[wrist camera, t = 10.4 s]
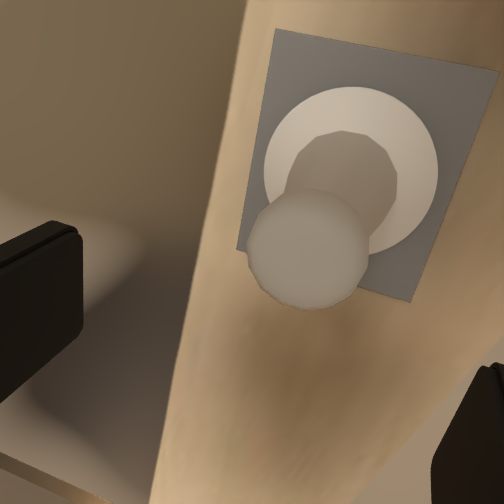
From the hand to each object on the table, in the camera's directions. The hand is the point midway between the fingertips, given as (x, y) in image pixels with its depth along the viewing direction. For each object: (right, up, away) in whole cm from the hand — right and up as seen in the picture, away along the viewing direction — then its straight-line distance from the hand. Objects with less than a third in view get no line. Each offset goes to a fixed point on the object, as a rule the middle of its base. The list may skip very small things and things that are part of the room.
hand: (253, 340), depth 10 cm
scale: (+7, +8, +20) cm, 22 cm away
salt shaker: (+6, +7, +16) cm, 18 cm away
